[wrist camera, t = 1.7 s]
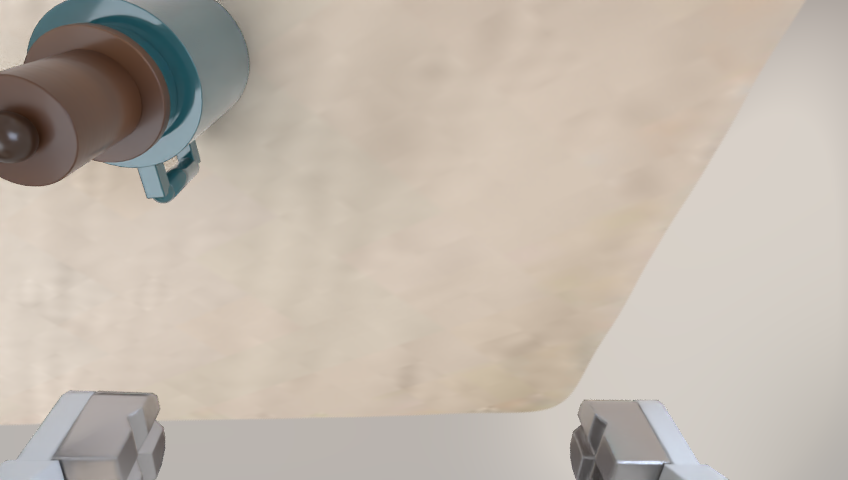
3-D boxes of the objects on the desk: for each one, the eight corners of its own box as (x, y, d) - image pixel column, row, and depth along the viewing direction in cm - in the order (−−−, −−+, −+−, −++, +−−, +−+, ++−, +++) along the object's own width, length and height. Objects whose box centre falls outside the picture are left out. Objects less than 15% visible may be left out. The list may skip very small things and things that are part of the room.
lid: (9, 28, 28) (-145, 59, 20) (148, 16, 28) (47, 42, 20) (60, 163, 31) (-57, 234, 23) (186, 152, 31) (111, 220, 23)
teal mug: (95, -10, 38) (-24, 6, 27) (232, -22, 37) (164, -11, 27) (149, 163, 43) (66, 230, 33) (269, 152, 43) (224, 217, 32)
